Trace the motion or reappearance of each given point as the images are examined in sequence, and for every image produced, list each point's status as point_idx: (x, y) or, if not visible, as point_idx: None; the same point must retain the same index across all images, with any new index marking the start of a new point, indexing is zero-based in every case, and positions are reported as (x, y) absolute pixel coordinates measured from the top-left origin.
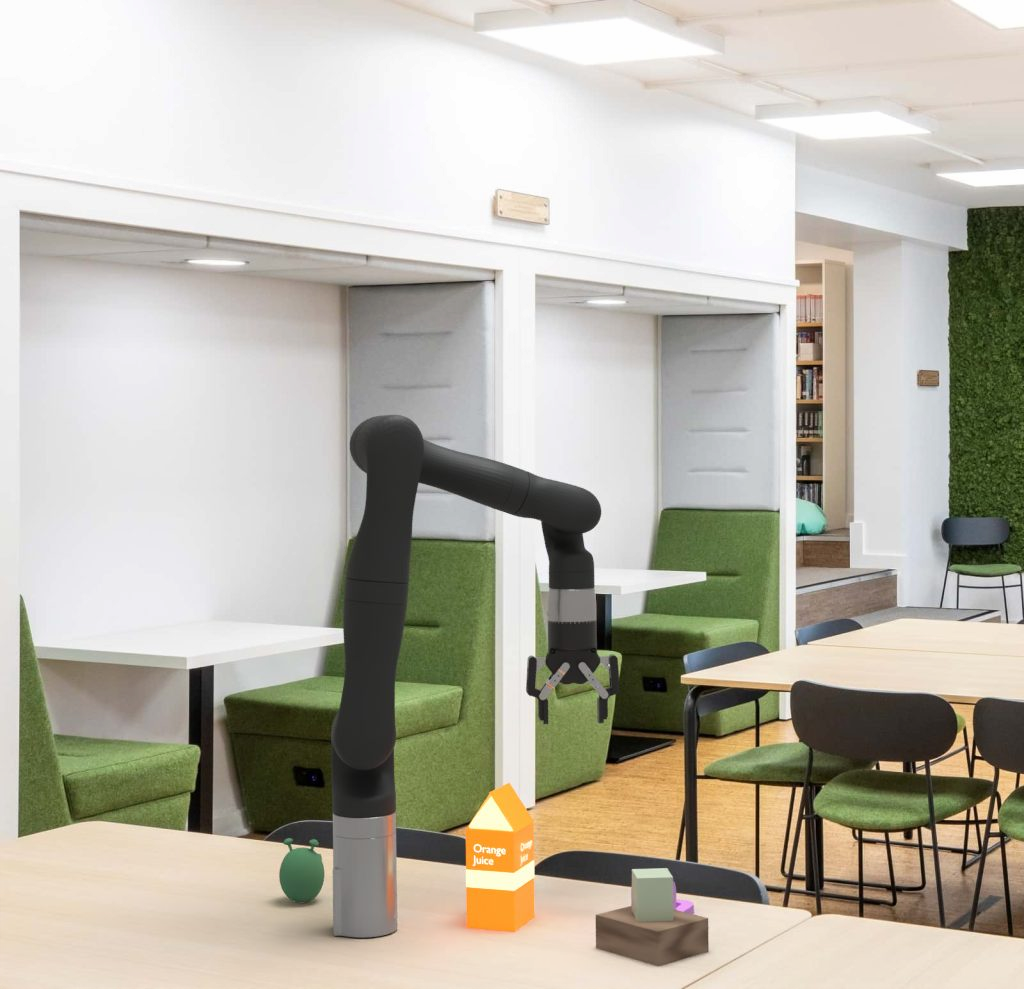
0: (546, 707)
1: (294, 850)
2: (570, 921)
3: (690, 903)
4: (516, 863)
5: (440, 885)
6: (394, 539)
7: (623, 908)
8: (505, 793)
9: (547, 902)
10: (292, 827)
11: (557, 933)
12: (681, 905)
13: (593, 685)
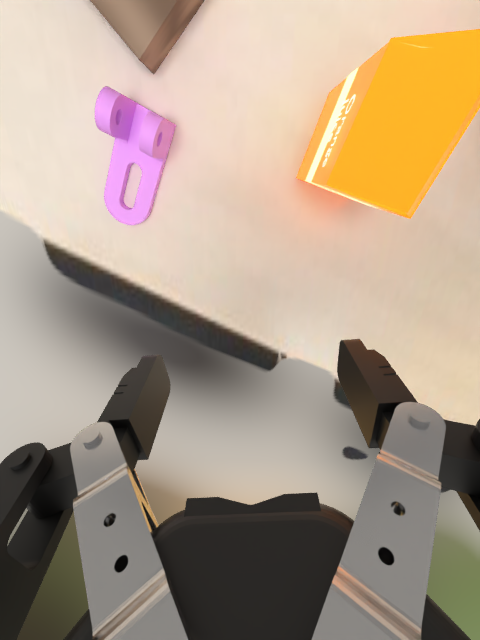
0: (372, 379)
1: None
2: (253, 154)
3: (108, 203)
4: (356, 81)
5: (379, 317)
6: None
7: (170, 4)
8: (426, 143)
9: (276, 247)
10: None
11: (272, 83)
12: (118, 193)
13: (122, 477)
